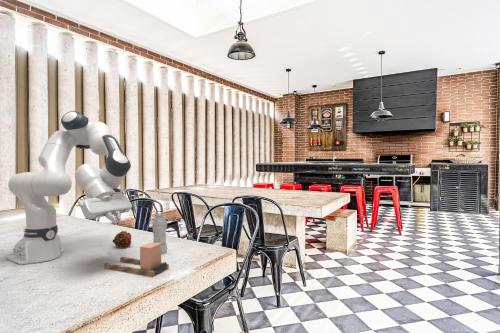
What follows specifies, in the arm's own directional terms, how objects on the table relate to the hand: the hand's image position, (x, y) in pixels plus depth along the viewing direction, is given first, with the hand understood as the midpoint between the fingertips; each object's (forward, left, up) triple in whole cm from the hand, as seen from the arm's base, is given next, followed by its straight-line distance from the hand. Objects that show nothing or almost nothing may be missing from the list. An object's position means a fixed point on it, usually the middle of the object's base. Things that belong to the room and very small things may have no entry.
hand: (117, 221), depth 116 cm
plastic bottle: (+2, +22, -20) cm, 30 cm away
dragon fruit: (-25, +26, -20) cm, 41 cm away
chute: (+7, +2, -20) cm, 21 cm away
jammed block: (+14, +2, -18) cm, 23 cm away
